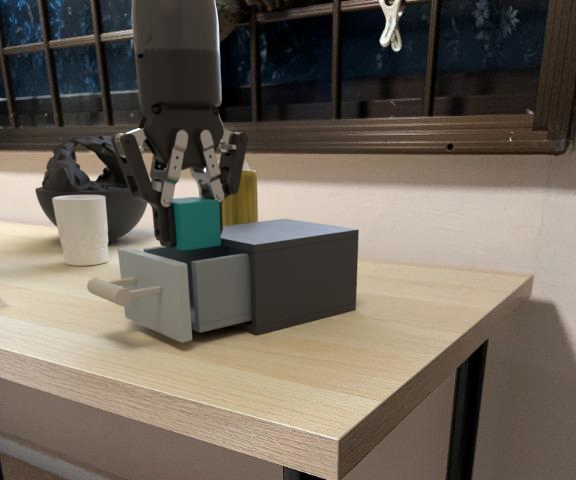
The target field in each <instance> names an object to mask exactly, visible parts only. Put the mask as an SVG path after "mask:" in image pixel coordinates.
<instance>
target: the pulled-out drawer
mask: <svg viewBox="0 0 576 480" xmlns="http://www.w3.org/2000/svg"><path fill="white" fill-rule="evenodd" d="M117 254H118V255H117V256H118V263H119V274H120V279H119V278H118V279H113V280H108V281H107V280H104V279H101V278H99V277H92V278H90V279H89V280H88V282H87V283H86V287H87V288H86V289H87V291H88V292H89V293H90V294H92V295H95V296H97V297H99V298H101V299H103V300H106V301H109V302H110V303H113V304H115V305H117V306H119V307H123V309H124V318H126V319H128V320H130V321H132V322H135V323H136V324H139V325H141V326H143V327H146V328H147V329H150V330H152V331H154V332H157V333H159V334H161V335H163V336H165V337H167V338H170V339H172V340H174V341H177V342H178V343H182V344H183V343H187V342H191V341H193V331H195V332H197V333H200V334H202V333H206V332H210V331H213V330H217V329H218V330H219V329H221V328H226V327H230V326H231V325H235V324H239V323H243V322H247V321H251V320H252V311H251V278H250V252H248V251H243V250H238V249H234V248H229V247H225V246H216V247H209V248H202V249H195V250H188V251H182V250H178V249H174V248H170V247H165V246H162V245H159V246H153V247H145V248H143V249H142V250H139V249H135V248H131V247H120V248H117Z"/></svg>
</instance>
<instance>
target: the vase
mask: <svg viewBox="0 0 576 480" xmlns="http://www.w3.org/2000/svg"><path fill="white" fill-rule="evenodd" d="M258 204H259V203H258V175H257V170H256V169H255V170H254V169H250V170H242V174H241V179H240V184H239V189H238V192H237V193H236V194H231V195H229V196H228V197H226V198H225V199H224V200H223V202H222V220H223V223H222V224H223V226H228V225H236V224H244V223H253V222H259V209H258V206H259V205H258Z"/></svg>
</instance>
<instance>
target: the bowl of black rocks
mask: <svg viewBox="0 0 576 480" xmlns="http://www.w3.org/2000/svg"><path fill="white" fill-rule="evenodd" d="M112 136H113V135H105V134H99V135H98V137H95V136H93V135H87V136H86V138H85V139H84V138H82V137H81V136H79V135H72V136H70V137H68V138H67V139H66V140H64V141H63V142H61V143H59V144H57V145H55V147H53V149H52V153H53V156H51V157H49V159H48V161H47V163H46V167H45V169H46V171H44V176H43V180H42V182H41V186H40V187H35V189H34V190H35V195H36V198H37V201H38V203H39V207H40V208H41V210H42V212H43V213H44V214H45V216H46V218H48V220H49V221H50V222H51V223H52V224H53V225H54V226H55V227H56V228H57V223H56V217H55V212H54V207H53V202H52V198H54V197H59V196H69V195H102V196H105V197H106V211H107V224H108V242H111V241H115V240H118V239H120V238H122V237H124V236H126V235H128V233H130V232H131V231H132V230H133V229H134V228H135V227H136V226H137V225H138V224H139V222H141V220H142V218H143V216H144V214H145V212H146V209H147V207H148V203H147V202H144V201H141V200H135V199H133V198H132V196H131V194H130V191H129V189H128V186H127V183H126V180H125V178H124V175H123V172H122V170H121V167H120V164H119V161H118V159H117V156H116V153H115V150H114V148H113V145H112V142H111V138H112ZM78 145H81V146H83V147H84V148H86V149H87V150H90V151H91V152H93V153H94V154H95V155H96V156H97V158H98V160H100V161H101V162H102V164H103V165H105V167H104V168H103V169H102V173H100V174H99V175H98V176H97V178H96V180H91V179H90V176H89V175H88V174H87V173H86V172H85V171H84V170H83V169H81V165H80V164H79V163H77V155H76V151H77V146H78ZM103 149H104V150H103Z"/></svg>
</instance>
